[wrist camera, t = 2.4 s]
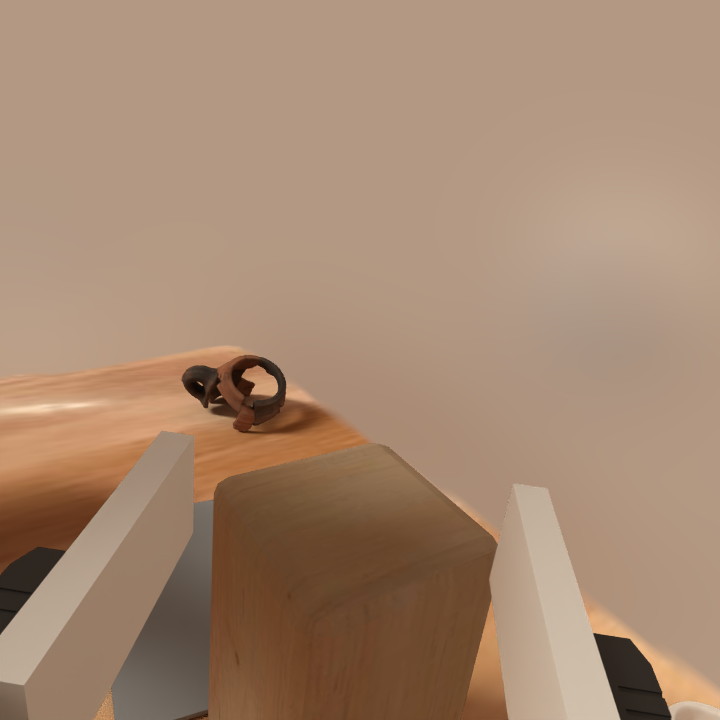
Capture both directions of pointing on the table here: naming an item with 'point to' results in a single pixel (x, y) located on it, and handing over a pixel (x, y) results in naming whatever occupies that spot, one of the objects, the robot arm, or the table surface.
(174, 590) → the rubber mat
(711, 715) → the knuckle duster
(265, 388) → the table surface
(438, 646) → the wooden block
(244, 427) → the brown hollow looped part
